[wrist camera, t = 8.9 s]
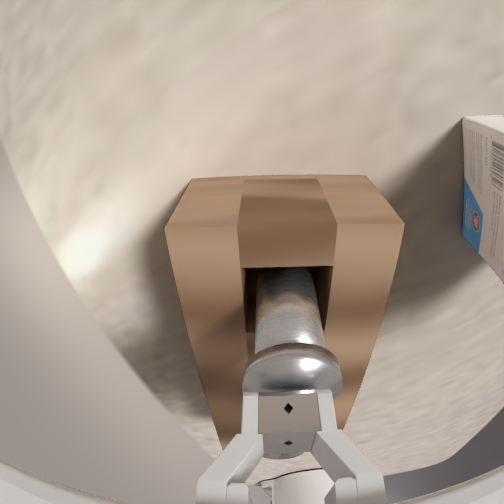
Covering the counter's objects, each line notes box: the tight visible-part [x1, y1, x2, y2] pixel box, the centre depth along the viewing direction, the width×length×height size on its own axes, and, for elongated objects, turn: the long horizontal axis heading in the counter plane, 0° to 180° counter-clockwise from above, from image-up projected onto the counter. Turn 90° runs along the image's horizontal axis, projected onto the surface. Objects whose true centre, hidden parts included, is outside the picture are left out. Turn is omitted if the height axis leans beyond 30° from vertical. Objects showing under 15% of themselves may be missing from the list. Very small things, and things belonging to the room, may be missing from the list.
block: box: [164, 175, 405, 450], centre depth 21 cm, size 22×10×6 cm, turn 3°
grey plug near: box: [242, 266, 343, 400], centre depth 13 cm, size 4×4×6 cm
